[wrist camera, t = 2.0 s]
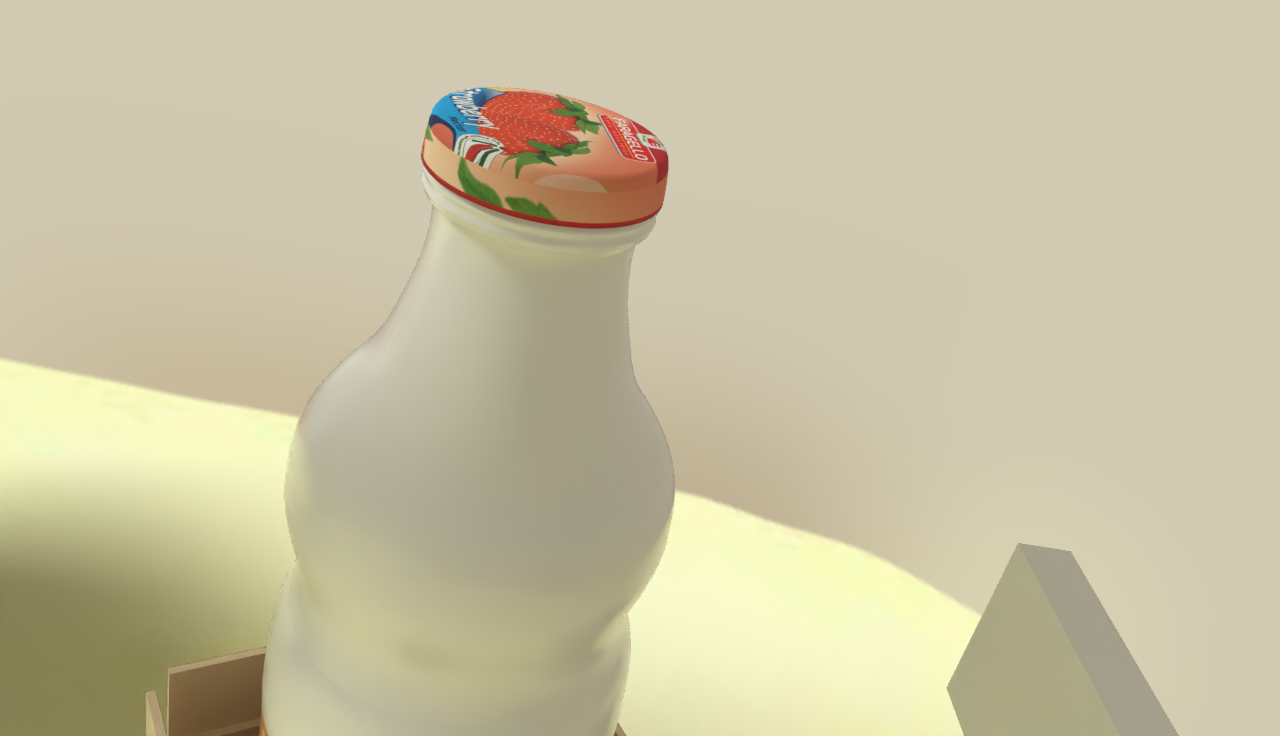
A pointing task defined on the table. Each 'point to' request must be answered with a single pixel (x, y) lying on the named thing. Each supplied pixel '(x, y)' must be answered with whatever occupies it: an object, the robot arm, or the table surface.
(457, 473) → the fruit juice
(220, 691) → the carton
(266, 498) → the table surface
